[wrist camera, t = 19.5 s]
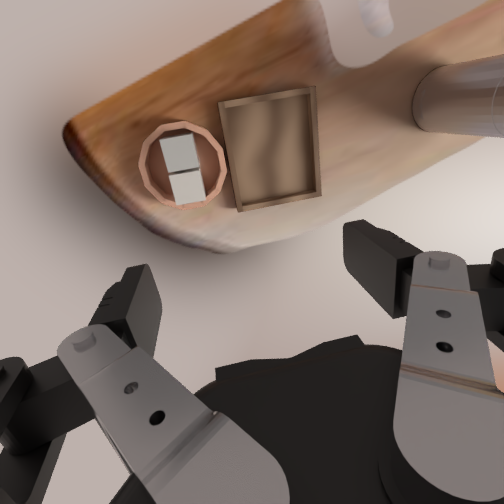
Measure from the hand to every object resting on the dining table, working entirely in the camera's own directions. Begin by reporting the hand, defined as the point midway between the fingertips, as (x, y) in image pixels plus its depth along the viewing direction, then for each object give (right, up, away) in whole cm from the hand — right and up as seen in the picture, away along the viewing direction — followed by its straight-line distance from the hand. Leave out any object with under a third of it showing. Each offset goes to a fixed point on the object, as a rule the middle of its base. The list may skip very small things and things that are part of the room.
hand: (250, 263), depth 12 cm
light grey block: (-10, +15, +31) cm, 36 cm away
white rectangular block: (-9, +11, +33) cm, 36 cm away
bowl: (-10, +14, +32) cm, 36 cm away
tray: (+3, +16, +33) cm, 37 cm away
